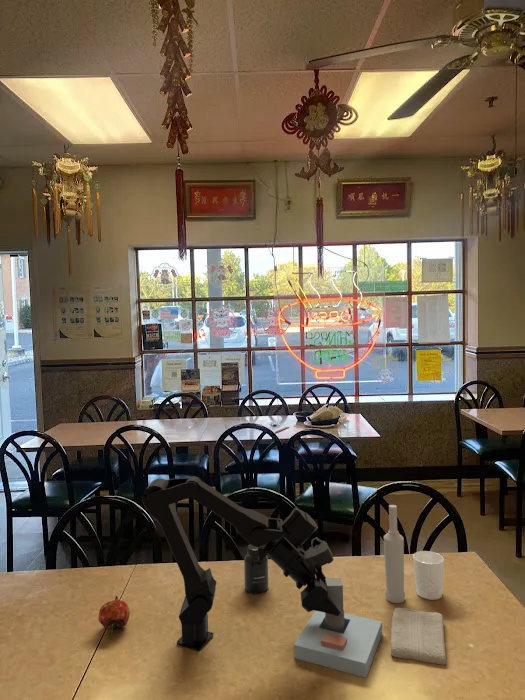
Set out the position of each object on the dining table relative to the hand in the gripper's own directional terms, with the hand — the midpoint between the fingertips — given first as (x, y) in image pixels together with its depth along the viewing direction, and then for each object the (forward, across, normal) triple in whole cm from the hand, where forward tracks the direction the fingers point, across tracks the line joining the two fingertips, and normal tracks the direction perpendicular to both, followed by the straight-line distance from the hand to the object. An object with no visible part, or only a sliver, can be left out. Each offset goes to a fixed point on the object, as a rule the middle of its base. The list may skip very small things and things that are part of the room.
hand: (336, 603), depth 114 cm
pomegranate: (-32, +5, +44) cm, 55 cm away
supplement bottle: (-8, +23, +20) cm, 31 cm away
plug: (+5, 0, +6) cm, 8 cm away
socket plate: (+6, -4, +6) cm, 9 cm away
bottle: (+18, +16, -7) cm, 25 cm away
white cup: (+25, +18, -14) cm, 34 cm away
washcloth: (+19, -1, -7) cm, 21 cm away
